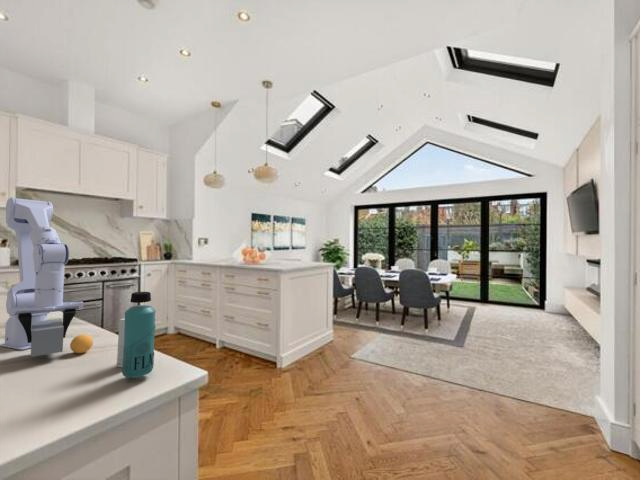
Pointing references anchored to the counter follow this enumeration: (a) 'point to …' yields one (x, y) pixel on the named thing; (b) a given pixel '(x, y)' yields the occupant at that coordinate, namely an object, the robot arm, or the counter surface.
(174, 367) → the counter surface
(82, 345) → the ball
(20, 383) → the counter surface
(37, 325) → the tall gray prism
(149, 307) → the beverage bottle
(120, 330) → the skincare box
